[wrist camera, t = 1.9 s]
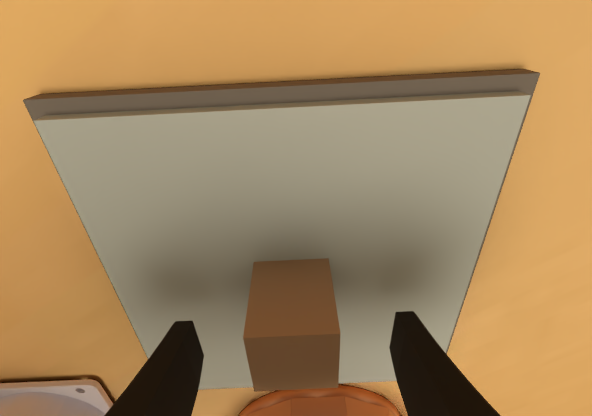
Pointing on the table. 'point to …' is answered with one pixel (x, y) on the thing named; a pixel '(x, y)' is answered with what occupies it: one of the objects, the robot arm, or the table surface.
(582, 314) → the table surface
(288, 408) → the bowl
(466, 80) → the mat
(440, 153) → the lid
